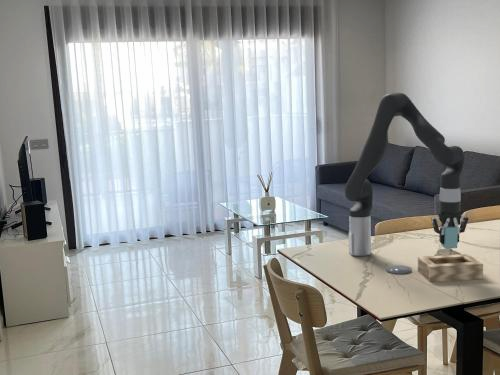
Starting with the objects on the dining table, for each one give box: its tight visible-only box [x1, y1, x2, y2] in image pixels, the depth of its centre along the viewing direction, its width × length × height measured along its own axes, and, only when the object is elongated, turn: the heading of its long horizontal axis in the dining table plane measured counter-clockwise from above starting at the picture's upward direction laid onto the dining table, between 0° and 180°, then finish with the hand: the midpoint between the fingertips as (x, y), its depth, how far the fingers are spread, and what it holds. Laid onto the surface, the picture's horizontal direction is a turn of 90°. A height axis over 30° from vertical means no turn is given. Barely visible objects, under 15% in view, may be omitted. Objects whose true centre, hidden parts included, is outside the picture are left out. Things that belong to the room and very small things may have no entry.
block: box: [440, 226, 458, 249], centre depth 223 cm, size 4×4×8 cm
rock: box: [433, 248, 461, 256], centre depth 245 cm, size 11×11×4 cm
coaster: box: [385, 264, 413, 275], centre depth 233 cm, size 10×10×1 cm
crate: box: [417, 253, 484, 283], centre depth 225 cm, size 20×14×6 cm
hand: (449, 243), depth 223 cm, fingers closed on block, 4 cm apart
